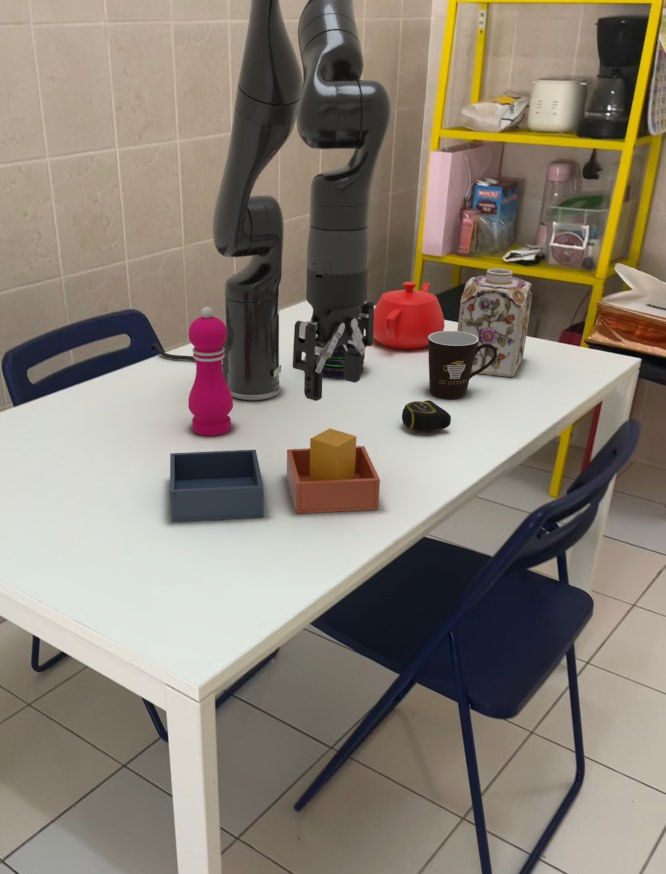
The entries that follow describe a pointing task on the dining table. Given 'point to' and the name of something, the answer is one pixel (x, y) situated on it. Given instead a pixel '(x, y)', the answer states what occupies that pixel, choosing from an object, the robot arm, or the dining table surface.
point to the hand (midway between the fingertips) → (332, 389)
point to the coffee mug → (453, 362)
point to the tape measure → (425, 416)
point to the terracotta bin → (332, 485)
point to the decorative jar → (497, 319)
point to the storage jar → (336, 362)
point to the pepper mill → (209, 377)
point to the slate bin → (215, 485)
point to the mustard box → (332, 456)
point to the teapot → (407, 317)
